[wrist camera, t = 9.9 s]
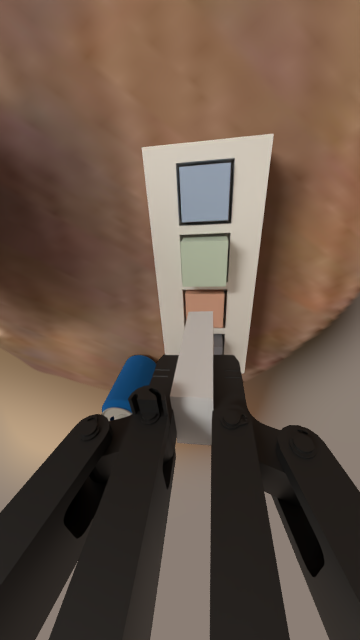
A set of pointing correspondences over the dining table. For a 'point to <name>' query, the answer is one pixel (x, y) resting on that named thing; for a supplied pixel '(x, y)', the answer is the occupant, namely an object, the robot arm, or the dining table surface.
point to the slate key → (205, 192)
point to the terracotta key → (206, 303)
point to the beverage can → (128, 386)
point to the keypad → (208, 231)
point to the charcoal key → (218, 344)
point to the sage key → (204, 261)
